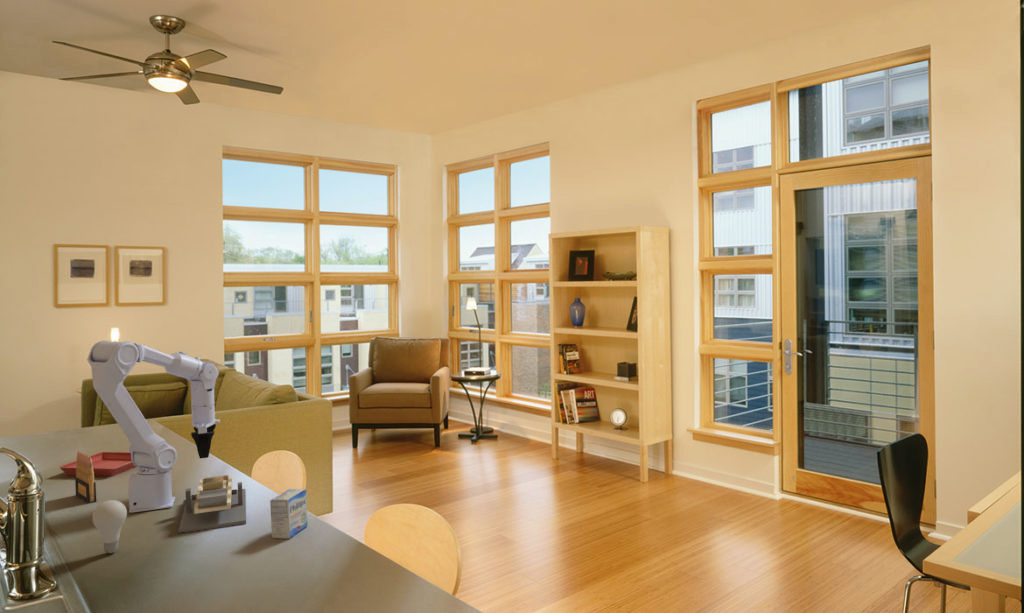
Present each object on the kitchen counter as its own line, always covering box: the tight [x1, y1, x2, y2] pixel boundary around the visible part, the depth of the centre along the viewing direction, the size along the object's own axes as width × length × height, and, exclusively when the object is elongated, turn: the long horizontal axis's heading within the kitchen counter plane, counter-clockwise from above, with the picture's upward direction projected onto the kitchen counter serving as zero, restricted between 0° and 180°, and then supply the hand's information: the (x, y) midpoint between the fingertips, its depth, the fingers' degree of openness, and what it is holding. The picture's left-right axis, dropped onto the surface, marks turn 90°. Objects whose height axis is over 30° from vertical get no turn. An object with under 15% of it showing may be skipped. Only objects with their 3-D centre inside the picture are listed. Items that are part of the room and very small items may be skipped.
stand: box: [178, 481, 247, 534], centre depth 160 cm, size 26×14×6 cm, turn 23°
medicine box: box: [269, 488, 308, 540], centre depth 145 cm, size 8×4×9 cm, turn 168°
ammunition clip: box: [74, 450, 97, 504], centre depth 171 cm, size 11×2×12 cm, turn 49°
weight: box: [202, 475, 224, 491], centre depth 157 cm, size 4×4×4 cm
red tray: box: [59, 451, 137, 477], centre depth 200 cm, size 18×18×3 cm
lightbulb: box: [91, 499, 128, 555], centre depth 135 cm, size 6×6×11 cm
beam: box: [191, 474, 238, 514], centre depth 160 cm, size 23×10×3 cm, turn 23°
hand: (204, 454), depth 178 cm, fingers open, 7 cm apart
